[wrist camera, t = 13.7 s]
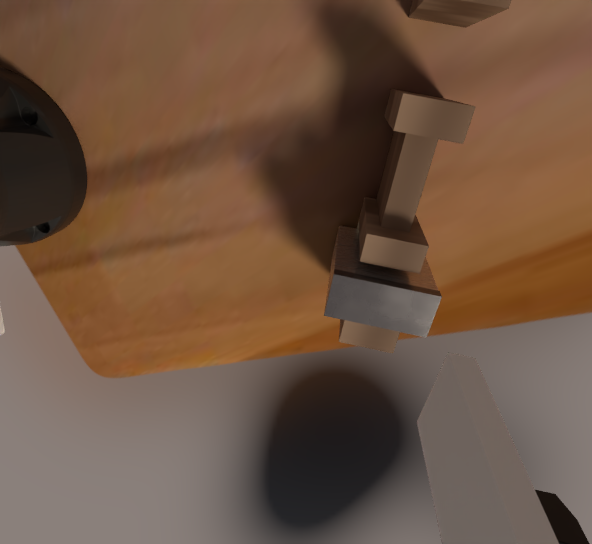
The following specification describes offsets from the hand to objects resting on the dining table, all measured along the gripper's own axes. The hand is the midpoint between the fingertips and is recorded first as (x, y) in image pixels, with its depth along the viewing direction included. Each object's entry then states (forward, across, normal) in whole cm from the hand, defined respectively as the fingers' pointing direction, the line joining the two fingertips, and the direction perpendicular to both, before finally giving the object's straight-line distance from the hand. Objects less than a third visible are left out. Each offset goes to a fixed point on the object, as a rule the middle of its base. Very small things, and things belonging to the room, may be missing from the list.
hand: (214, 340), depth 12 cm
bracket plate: (+24, +8, -6) cm, 26 cm away
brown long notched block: (+24, +8, +2) cm, 26 cm away
